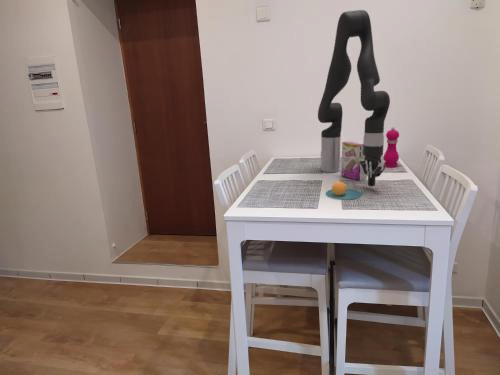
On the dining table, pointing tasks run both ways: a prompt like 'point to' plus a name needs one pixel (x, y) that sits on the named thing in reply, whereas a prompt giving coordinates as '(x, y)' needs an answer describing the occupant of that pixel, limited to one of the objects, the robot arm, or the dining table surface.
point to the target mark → (347, 196)
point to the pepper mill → (391, 149)
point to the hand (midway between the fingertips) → (371, 185)
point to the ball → (339, 188)
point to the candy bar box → (353, 160)
